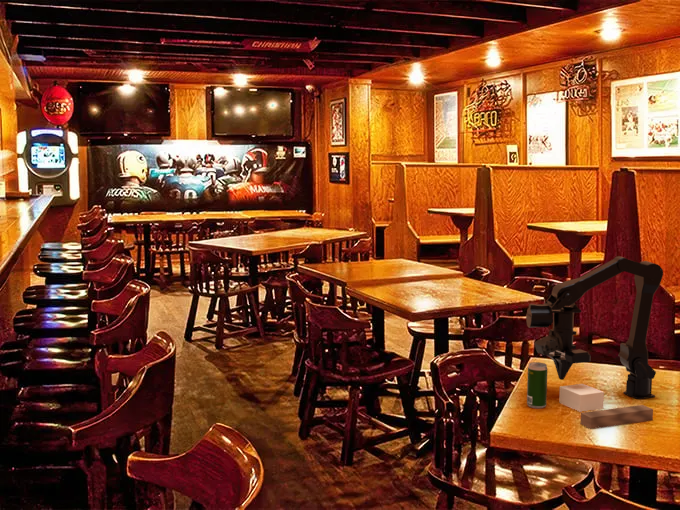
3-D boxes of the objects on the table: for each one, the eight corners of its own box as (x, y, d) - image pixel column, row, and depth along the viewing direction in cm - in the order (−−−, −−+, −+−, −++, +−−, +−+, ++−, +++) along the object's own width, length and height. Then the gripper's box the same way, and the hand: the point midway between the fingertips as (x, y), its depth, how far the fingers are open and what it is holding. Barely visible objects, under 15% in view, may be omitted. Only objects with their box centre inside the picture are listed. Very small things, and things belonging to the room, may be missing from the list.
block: (582, 400, 223) (582, 383, 222) (603, 409, 214) (603, 392, 214) (559, 403, 220) (559, 386, 219) (579, 412, 211) (580, 395, 211)
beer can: (537, 410, 213) (538, 367, 212) (522, 405, 217) (523, 363, 216) (550, 406, 216) (551, 365, 215) (535, 401, 220) (537, 361, 219)
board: (642, 415, 208) (642, 404, 208) (652, 420, 204) (653, 409, 204) (580, 424, 202) (580, 412, 201) (590, 428, 198) (590, 417, 197)
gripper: (521, 323, 229) (520, 374, 231) (559, 336, 212) (557, 391, 214) (552, 320, 233) (551, 370, 235) (592, 332, 216) (590, 387, 218)
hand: (561, 379), depth 225 cm, fingers closed
